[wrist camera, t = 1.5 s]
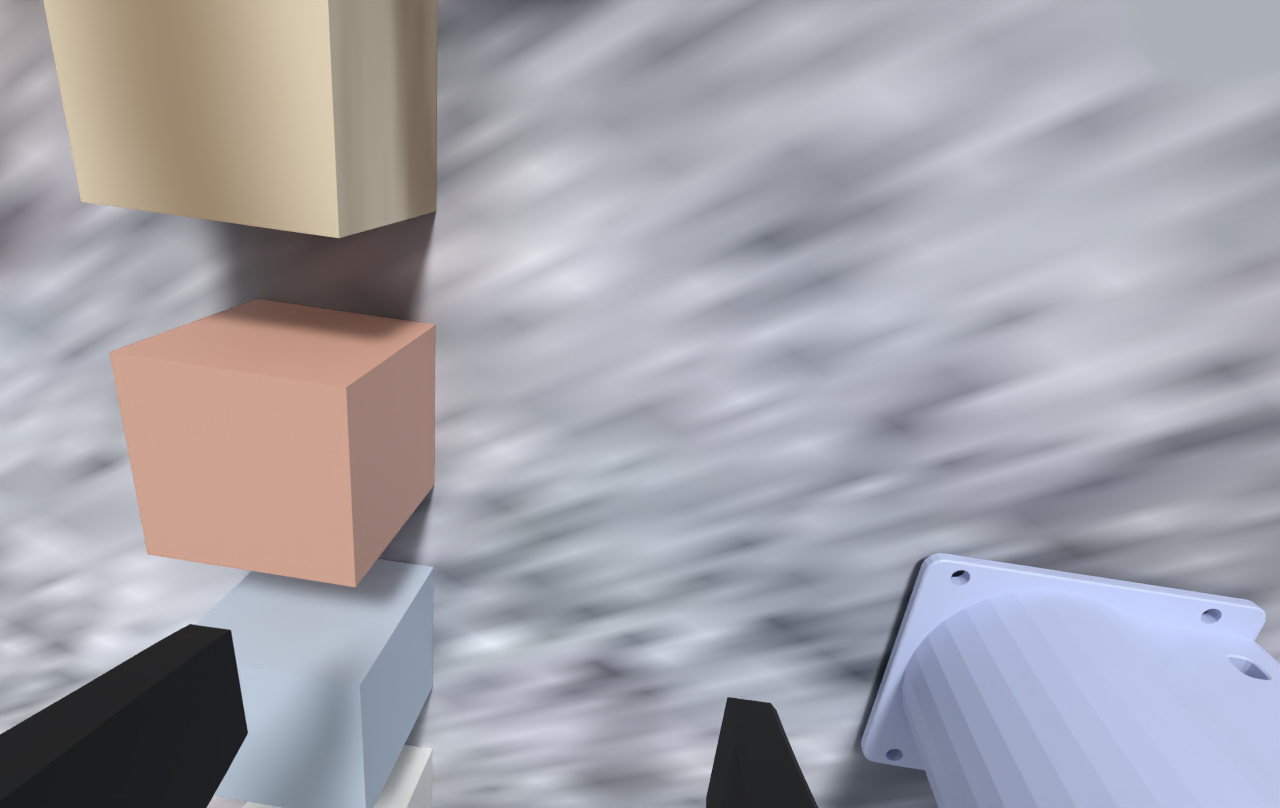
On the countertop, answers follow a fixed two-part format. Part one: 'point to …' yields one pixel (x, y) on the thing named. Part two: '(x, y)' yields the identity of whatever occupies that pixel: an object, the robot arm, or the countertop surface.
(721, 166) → the countertop surface
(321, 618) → the blue-grey block
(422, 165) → the maple block
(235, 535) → the terracotta block
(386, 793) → the cream block
